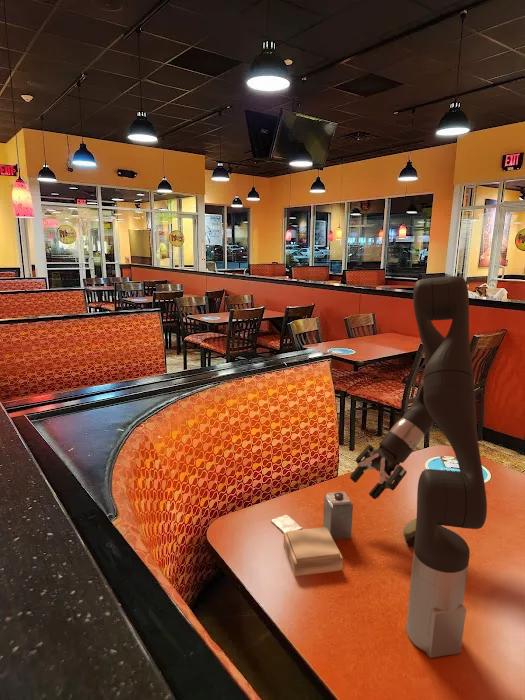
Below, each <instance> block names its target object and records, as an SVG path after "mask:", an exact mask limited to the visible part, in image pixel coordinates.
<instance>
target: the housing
mask: <svg viewBox="0 0 525 700" xmlns="http://www.w3.org/2000/svg"><path fill="white" fill-rule="evenodd" d="M323 500H324V501H323V522H322V524H323V525H322V527H326V528H327V529H328V531H329V533H330V534H331V536H332V538H333V540H334V541H335V539H337V540H344V539H343V538H346V539H352V530H353V511H354V510H353V509H354V505H353V503H352V501H351V499H350V497H349V496H348V494H347V493H346V492H345V491H344V490H343V491H333V492H326V493H325V495H324V498H323Z"/></svg>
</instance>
